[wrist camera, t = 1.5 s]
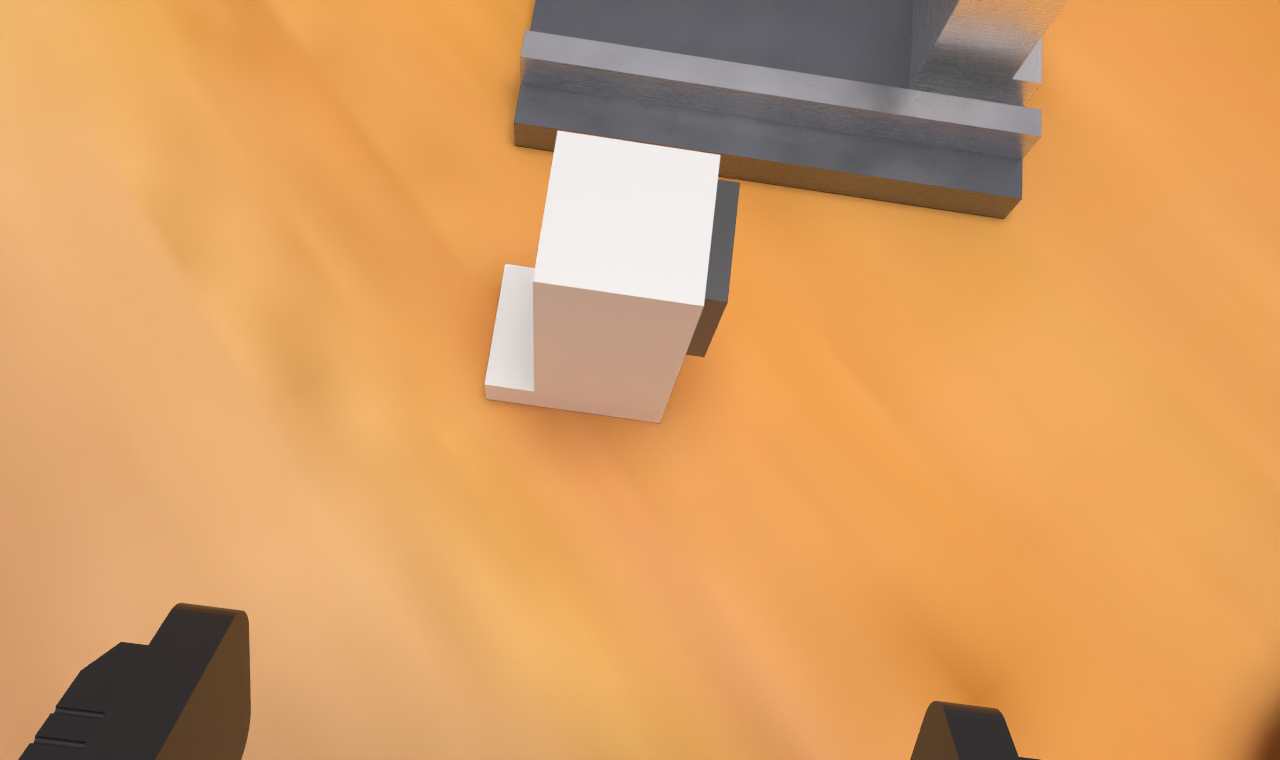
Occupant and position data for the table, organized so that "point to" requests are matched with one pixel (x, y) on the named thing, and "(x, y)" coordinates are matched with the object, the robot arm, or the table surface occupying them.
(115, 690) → the robot arm
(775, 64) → the rail
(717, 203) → the white stepped block
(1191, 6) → the table surface
